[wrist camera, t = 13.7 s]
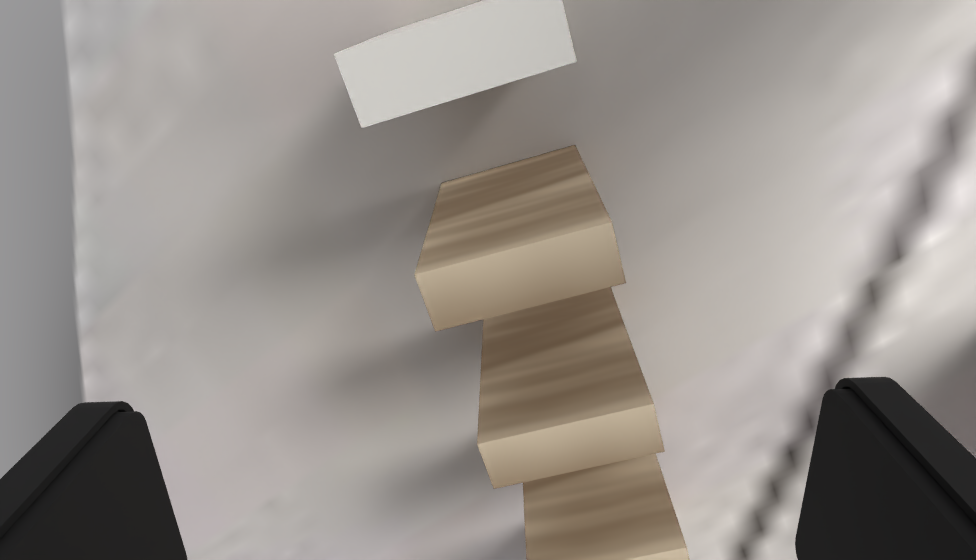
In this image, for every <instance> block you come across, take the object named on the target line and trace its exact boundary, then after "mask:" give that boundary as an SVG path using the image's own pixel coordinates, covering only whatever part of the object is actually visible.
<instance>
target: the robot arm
mask: <svg viewBox="0 0 976 560" xmlns="http://www.w3.org/2000/svg"><path fill="white" fill-rule="evenodd" d="M795 546H796V554H797V558H798V560H976V458H975V457H974V456H973V455H972V454H971V453H970V452H969V451H967V450H966V449H965V448H964V447H963V446H962V445H961V444H960V443H959V442H958V441H957V440H956V439H955V438H954V437H953V436H952V435H951V434H950V433H949V432H948V431H947V430H946V429H945V428H943V427H942V426H941V425H940V424H939V423H938V422H937V421H936V420H935V419H934V418H933V417H932V416H931V415H930V414H929V413H928V412H927V411H926V410H925V409H924V408H923V407H922V406H921V405H920V404H918V403H917V402H916V401H915V400H914V399H913V398H912V397H911V396H910V395H909V394H908V393H907V392H906V391H905V390H904V389H903V388H902V387H901V386H900V385H899V384H898V383H897V382H895V381H894V380H892V379H891V378H888V377H867V378H844V379H842V380H840V381H839V382H838V383H837V385H836V387H835V389H830V390H828V391H826V393H825V394H824V397H823V400H822V405H821V410H820V415H819V421H818V426H817V431H816V436H815V441H814V446H813V451H812V457H811V462H810V467H809V472H808V477H807V482H806V487H805V493H804V498H803V503H802V508H801V513H800V518H799V523H798V529H797V534H796V541H795ZM0 560H187V555H186V551H185V548H184V545H183V541H182V538H181V535H180V532H179V528H178V525H177V522H176V518H175V515H174V512H173V508H172V505H171V502H170V499H169V495H168V492H167V489H166V485H165V482H164V479H163V476H162V472H161V469H160V466H159V462H158V459H157V456H156V452H155V449H154V446H153V443H152V439H151V436H150V433H149V429H148V426H147V423H146V420H145V418H144V416H143V415H142V414H141V413H140V412H137V411H135V412H134V410H133V408H132V407H131V406H130V405H129V404H128V403H126V402H123V401H119V402H88V403H80V404H78V405H76V406H75V407H73V408H72V409H71V410H70V411H69V412H68V413H67V414H66V415H65V416H64V417H63V418H62V419H61V420H60V421H59V422H58V423H57V424H56V425H55V426H54V427H53V428H52V429H51V430H50V431H49V432H48V433H47V434H46V435H45V436H44V437H43V438H42V439H41V440H40V441H39V442H38V443H37V444H36V445H35V446H34V447H32V449H31V450H29V451H28V452H27V453H26V454H25V455H24V456H23V457H22V458H21V459H20V460H19V461H18V462H17V463H16V464H15V465H14V466H13V467H12V468H11V469H10V470H9V471H8V472H7V473H6V474H5V475H4V476H3V477H2V478H1V479H0Z"/></svg>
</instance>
